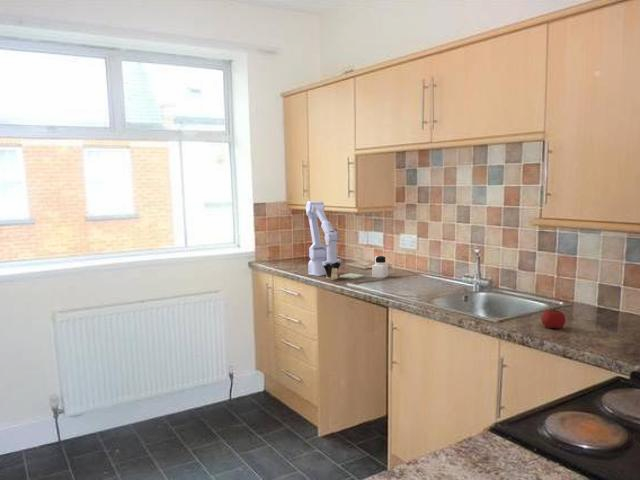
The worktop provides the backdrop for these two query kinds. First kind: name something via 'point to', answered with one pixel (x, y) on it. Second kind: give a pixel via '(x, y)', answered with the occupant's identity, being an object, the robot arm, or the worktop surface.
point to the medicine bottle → (380, 267)
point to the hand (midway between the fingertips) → (332, 276)
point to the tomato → (553, 319)
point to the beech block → (333, 274)
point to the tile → (351, 276)
